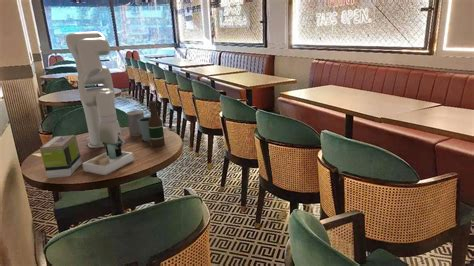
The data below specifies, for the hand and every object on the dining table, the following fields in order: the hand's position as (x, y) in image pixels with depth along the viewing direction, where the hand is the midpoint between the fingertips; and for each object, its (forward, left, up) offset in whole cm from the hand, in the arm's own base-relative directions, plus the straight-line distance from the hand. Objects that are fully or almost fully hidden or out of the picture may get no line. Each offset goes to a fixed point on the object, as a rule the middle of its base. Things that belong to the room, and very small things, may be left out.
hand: (114, 155), depth 156 cm
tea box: (-16, -15, -4) cm, 22 cm away
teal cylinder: (0, 0, -1) cm, 1 cm away
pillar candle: (-21, +40, -4) cm, 45 cm away
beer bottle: (+4, +27, -4) cm, 28 cm away
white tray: (0, -4, -4) cm, 6 cm away
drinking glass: (-7, +34, -4) cm, 35 cm away
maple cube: (0, -9, -3) cm, 9 cm away
